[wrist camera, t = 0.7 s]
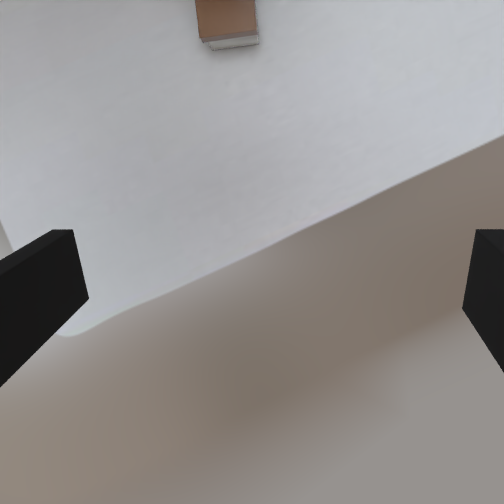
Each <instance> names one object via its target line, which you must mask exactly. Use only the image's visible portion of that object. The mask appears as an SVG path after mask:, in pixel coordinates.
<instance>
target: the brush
mask: <svg viewBox="0 0 504 504" xmlns="http://www.w3.org/2000/svg"><path fill="white" fill-rule="evenodd" d="M195 3H196V11H197V20H198V29H199V38H200V39H201V40H202V42H203V43H204V42H208V44H209V45H210V47H211V48H212V49H213V50H219V49H226V48H233V47H240V46H247V45H254V44H259V38H258V26H257V15H256V4H255V0H195Z"/></svg>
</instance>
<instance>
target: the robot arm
mask: <svg viewBox="0 0 504 504" xmlns="http://www.w3.org/2000/svg"><path fill="white" fill-rule="evenodd" d="M88 299H89V297H88V292H87V288H86V284H85V280H84V275H83V271H82V267H81V262H80V258H79V254H78V250H77V245H76V241H75V237H74V232H73V230H51V231H49V232H48V233H46V234H44V235H42V236H41V237H39V238H37V239H36V240H34V241H32V242H31V243H29V244H27V245H25V246H24V247H22V248H20V249H19V250H17V251H15V252H14V253H12V254H10V255H8V256H7V257H5V258H3V259H2V260H0V387H1V386H2V385H3V384H4V383H5V382H6V381H7V380H8V379H9V378H10V377H11V376H12V375H13V374H14V373H15V372H16V371H17V370H18V369H19V368H20V367H21V366H22V365H23V364H24V363H25V362H26V361H27V360H28V359H29V358H30V357H31V356H32V355H33V354H34V353H35V352H36V351H37V350H38V349H39V348H40V347H41V346H42V345H43V344H44V343H45V342H46V341H47V340H48V339H49V338H50V337H51V336H52V335H53V334H54V333H55V332H56V331H57V330H58V329H59V328H60V327H61V326H62V325H63V324H64V323H65V322H66V321H67V320H68V319H69V318H70V317H71V316H72V315H73V314H74V313H75V312H76V311H77V310H78V309H79V308H80V307H81V306H82V305H83V304H84V303H85V302H86V301H87V300H88ZM462 309H463V311H464V312H465V314H466V315H467V317H468V318H469V320H470V321H471V323H472V324H473V326H474V327H475V329H476V331H477V332H478V334H479V335H480V337H481V338H482V340H483V341H484V343H485V344H486V346H487V347H488V349H489V351H490V352H491V354H492V355H493V357H494V358H495V360H496V361H497V363H498V364H499V366H500V368H501V369H502V371H503V372H504V230H503V229H480V230H479V229H477V230H476V233H475V239H474V244H473V250H472V255H471V261H470V267H469V273H468V278H467V285H466V290H465V295H464V301H463V307H462Z"/></svg>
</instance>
